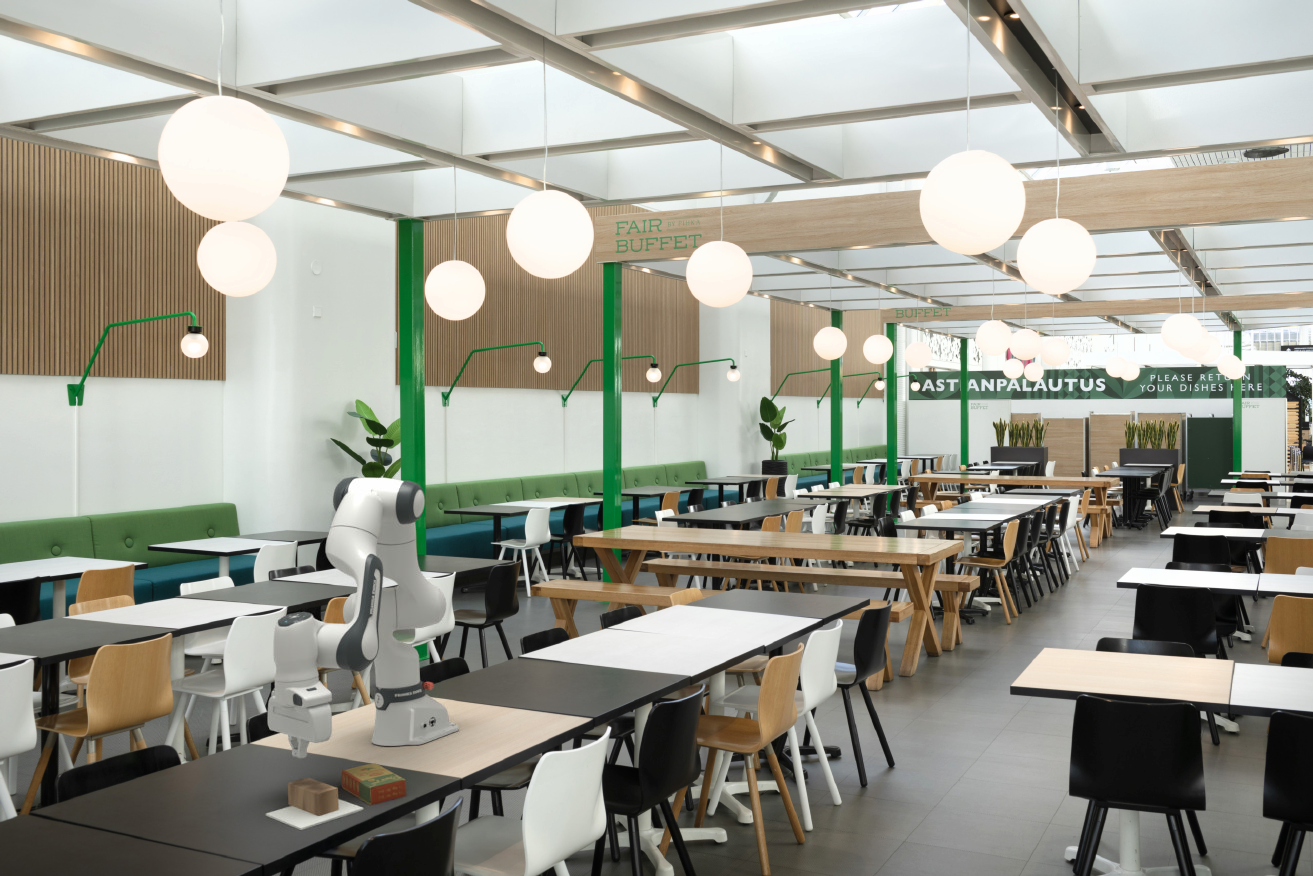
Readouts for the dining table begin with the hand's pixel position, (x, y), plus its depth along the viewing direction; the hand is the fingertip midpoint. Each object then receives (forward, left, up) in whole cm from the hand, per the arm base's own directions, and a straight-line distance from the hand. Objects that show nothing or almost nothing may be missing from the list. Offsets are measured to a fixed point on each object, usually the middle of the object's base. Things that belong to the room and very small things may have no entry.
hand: (299, 756), depth 219 cm
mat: (+1, +7, -10) cm, 12 cm away
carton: (-14, +6, -11) cm, 18 cm away
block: (0, -1, -7) cm, 7 cm away
